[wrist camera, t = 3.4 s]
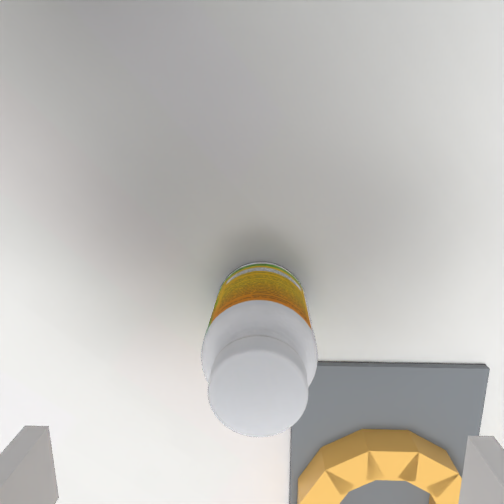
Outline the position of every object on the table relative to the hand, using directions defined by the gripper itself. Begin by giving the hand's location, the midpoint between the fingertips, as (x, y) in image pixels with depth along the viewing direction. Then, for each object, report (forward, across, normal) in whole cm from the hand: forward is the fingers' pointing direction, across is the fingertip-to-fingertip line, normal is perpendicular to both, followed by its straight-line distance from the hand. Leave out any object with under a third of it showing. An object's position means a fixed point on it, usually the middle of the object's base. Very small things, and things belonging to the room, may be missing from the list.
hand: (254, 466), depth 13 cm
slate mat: (+13, +8, -12) cm, 19 cm away
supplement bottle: (+13, 0, 0) cm, 13 cm away
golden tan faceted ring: (+13, +8, -14) cm, 20 cm away
